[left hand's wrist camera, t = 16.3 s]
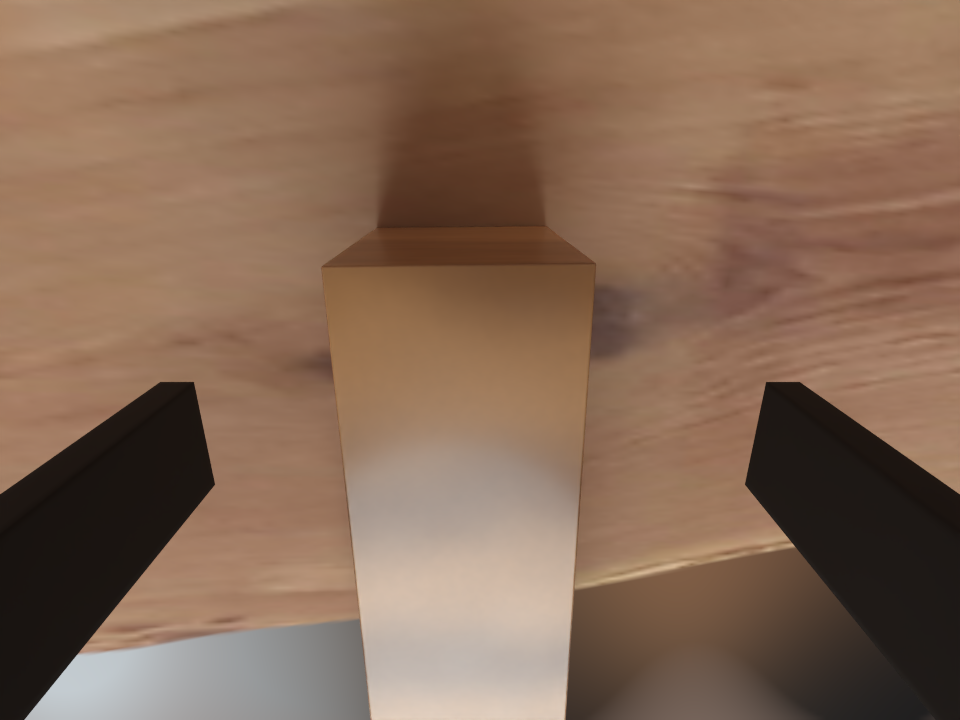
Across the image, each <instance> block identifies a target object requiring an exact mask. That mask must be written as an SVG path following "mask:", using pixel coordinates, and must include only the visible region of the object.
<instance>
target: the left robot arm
mask: <svg viewBox="0 0 960 720" xmlns="http://www.w3.org/2000/svg"><path fill="white" fill-rule="evenodd" d="M214 485H215V482H214V478H213V473H212V468H211V463H210V458H209V453H208V449H207V444H206V439H205V434H204V429H203V424H202V420H201V415H200V410H199V405H198V400H197V395H196V390H195V386H194V382H160V383H158V384H157V385H156V386H154V387H153V388H151V389H150V390H148V391H147V392H146V393H144V394H143V395H141V396H140V397H138V398H137V399H136V400H134V401H133V402H131V403H130V404H128V405H127V406H126V407H124V408H123V409H121V410H120V411H119V412H117V413H116V414H114V415H113V416H111V417H110V418H109V419H107V420H106V421H104V422H103V423H101V424H100V425H99V426H97V427H96V428H94V429H93V430H91V431H90V432H89V433H87V434H86V435H84V436H83V437H81V438H80V439H79V440H77V441H76V442H74V443H73V444H71V445H70V446H69V447H67V448H66V449H64V450H63V451H62V452H60V453H59V454H57V455H56V456H54V457H53V458H52V459H50V460H49V461H47V462H46V463H44V464H43V465H42V466H40V467H39V468H37V469H36V470H34V471H33V472H32V473H30V474H29V475H27V476H26V477H24V478H23V479H22V480H20V481H19V482H17V483H16V484H14V485H13V486H12V487H10V488H9V489H7V490H6V491H5V492H3V493H2V494H0V720H24V719H25V718H26V717H27V716H28V714H29V713H30V712H31V711H32V710H33V708H34V707H35V706H36V705H37V703H38V702H39V701H40V700H41V698H42V697H43V696H44V695H45V694H46V692H47V691H48V690H49V689H50V687H51V686H52V685H53V684H54V682H55V681H56V680H57V679H58V678H59V676H60V675H61V674H62V673H63V671H64V670H65V669H66V668H67V666H68V665H69V664H70V663H71V661H72V660H73V659H74V658H75V657H76V655H77V654H78V653H79V652H80V650H81V649H82V648H83V647H84V645H85V644H86V643H87V642H88V641H89V639H90V638H91V637H92V636H93V634H94V633H95V632H96V631H97V629H98V628H99V627H100V626H101V624H102V623H103V622H104V621H105V620H106V618H107V617H108V616H109V615H110V613H111V612H112V611H113V610H114V608H115V607H116V606H117V605H118V604H119V602H120V601H121V600H122V599H123V597H124V596H125V595H126V594H127V592H128V591H129V590H130V589H131V588H132V586H133V585H134V584H135V583H136V581H137V580H138V579H139V578H140V576H141V575H142V574H143V573H144V571H145V570H146V569H147V568H148V567H149V565H150V564H151V563H152V562H153V560H154V559H155V558H156V557H157V555H158V554H159V553H160V552H161V551H162V549H163V548H164V547H165V546H166V544H167V543H168V542H169V541H170V539H171V538H172V537H173V536H174V534H175V533H176V532H177V531H178V530H179V528H180V527H181V526H182V525H183V523H184V522H185V521H186V520H187V518H188V517H189V516H190V515H191V514H192V512H193V511H194V510H195V509H196V507H197V506H198V505H199V504H200V502H201V501H202V500H203V499H204V497H205V496H206V495H207V494H208V493H209V491H210V490H211V489H212V488H213V486H214ZM745 485H746V486H747V488H748V489H749V490H750V491H751V493H752V494H753V495H754V496H755V497H756V499H757V500H758V501H759V502H760V504H761V505H762V506H763V507H764V509H765V510H766V511H767V512H768V514H769V515H770V516H771V517H772V518H773V520H774V521H775V522H776V523H777V525H778V526H779V527H780V528H781V530H782V531H783V532H784V533H785V534H786V536H787V537H788V538H789V539H790V541H791V542H792V543H793V544H794V546H795V547H796V548H797V549H798V551H799V552H800V553H801V554H802V555H803V557H804V558H805V559H806V560H807V562H808V563H809V564H810V565H811V567H812V568H813V569H814V570H815V571H816V573H817V574H818V575H819V576H820V578H821V579H822V580H823V581H824V583H825V584H826V585H827V586H828V587H829V589H830V590H831V591H832V592H833V594H834V595H835V596H836V597H837V599H838V600H839V601H840V602H841V604H842V605H843V606H844V607H845V608H846V610H847V611H848V612H849V613H850V615H851V616H852V617H853V618H854V620H855V621H856V622H857V623H858V624H859V626H860V627H861V628H862V629H863V631H864V632H865V633H866V634H867V636H868V637H869V638H870V639H871V641H872V642H873V643H874V644H875V645H876V647H877V648H878V649H879V650H880V652H881V653H882V654H883V655H884V657H885V658H886V659H887V660H888V661H889V663H890V664H891V665H892V666H893V668H894V669H895V670H896V671H897V673H898V674H899V675H900V676H901V678H902V679H903V680H904V681H905V682H906V684H907V685H908V686H909V687H910V689H911V690H912V691H913V692H914V694H915V695H916V696H917V697H918V698H919V700H920V701H921V702H922V703H923V705H924V706H925V707H926V708H927V710H928V711H929V712H930V713H931V715H932V716H933V717H934V718H935V719H936V720H960V494H958V493H957V492H955V491H954V490H953V489H951V488H950V487H948V486H947V485H946V484H944V483H943V482H941V481H940V480H938V479H937V478H936V477H934V476H933V475H931V474H930V473H928V472H927V471H926V470H924V469H923V468H921V467H920V466H918V465H917V464H916V463H914V462H913V461H911V460H910V459H908V458H907V457H906V456H904V455H903V454H901V453H900V452H898V451H897V450H896V449H894V448H893V447H891V446H890V445H889V444H887V443H886V442H884V441H883V440H881V439H880V438H879V437H877V436H876V435H874V434H873V433H871V432H870V431H869V430H867V429H866V428H864V427H863V426H861V425H860V424H859V423H857V422H856V421H854V420H853V419H851V418H850V417H849V416H847V415H846V414H844V413H843V412H841V411H840V410H839V409H837V408H836V407H834V406H833V405H832V404H830V403H829V402H827V401H826V400H824V399H823V398H822V397H820V396H819V395H817V394H816V393H814V392H813V391H812V390H810V389H809V388H807V387H806V386H804V385H803V384H802V383H800V382H766V386H765V391H764V395H763V400H762V405H761V410H760V415H759V420H758V424H757V429H756V434H755V439H754V444H753V449H752V453H751V458H750V463H749V468H748V473H747V478H746V482H745Z"/></svg>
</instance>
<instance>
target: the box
mask: <svg viewBox="0 0 960 720" xmlns="http://www.w3.org/2000/svg"><path fill="white" fill-rule="evenodd" d="M321 269H322V279H323V288H324V297H325V306H326V315H327V324H328V334H329V343H330V352H331V361H332V370H333V379H334V389H335V398H336V407H337V416H338V425H339V434H340V444H341V453H342V462H343V471H344V480H345V489H346V499H347V508H348V517H349V526H350V535H351V545H352V554H353V563H354V572H355V581H356V590H357V600H358V609H359V618H360V627H361V636H362V645H363V655H364V664H365V673H366V682H367V691H368V700H369V710H370V719H371V720H565V719H566V704H567V689H568V674H569V660H570V645H571V630H572V615H573V600H574V586H575V571H576V556H577V541H578V526H579V511H580V497H581V482H582V467H583V452H584V437H585V422H586V408H587V393H588V378H589V363H590V348H591V333H592V319H593V304H594V289H595V274H596V263H594V262H593V261H592V260H590V259H589V258H588V257H587V256H585V255H584V254H583V253H581V252H580V251H579V250H577V249H576V248H575V247H573V246H572V245H571V244H569V243H568V242H567V241H565V240H564V239H563V238H561V237H560V236H559V235H557V234H556V233H555V232H553V231H552V230H551V229H549V228H548V227H546V226H510V227H410V228H376V229H375V230H373V231H372V232H370V233H369V234H367V235H366V236H365V237H363V238H362V239H360V240H359V241H357V242H356V243H355V244H353V245H352V246H350V247H349V248H347V249H346V250H345V251H343V252H342V253H340V254H339V255H337V256H336V257H335V258H333V259H332V260H330V261H329V262H327V263H326V264H325V265H323V266H322V268H321Z"/></svg>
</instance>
